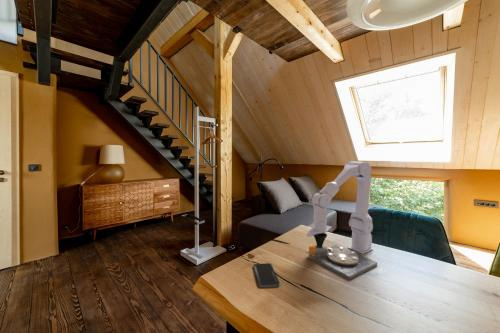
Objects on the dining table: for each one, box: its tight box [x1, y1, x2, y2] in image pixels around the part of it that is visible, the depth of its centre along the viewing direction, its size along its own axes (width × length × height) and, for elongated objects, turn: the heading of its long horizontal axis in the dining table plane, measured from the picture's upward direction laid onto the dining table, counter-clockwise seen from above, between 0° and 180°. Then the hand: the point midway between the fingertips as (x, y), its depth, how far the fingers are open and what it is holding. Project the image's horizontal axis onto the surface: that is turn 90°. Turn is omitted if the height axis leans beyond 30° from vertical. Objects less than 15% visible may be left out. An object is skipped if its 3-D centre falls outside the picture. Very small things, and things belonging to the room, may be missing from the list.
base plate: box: [308, 244, 378, 281], centre depth 94 cm, size 20×20×2 cm
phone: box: [252, 262, 280, 289], centre depth 83 cm, size 8×1×15 cm
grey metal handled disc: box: [308, 244, 359, 266], centre depth 95 cm, size 13×20×3 cm, turn 70°
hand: (319, 248), depth 99 cm, fingers closed, pressing on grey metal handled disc
